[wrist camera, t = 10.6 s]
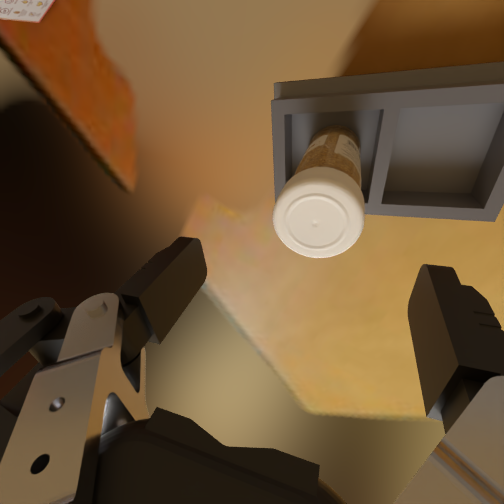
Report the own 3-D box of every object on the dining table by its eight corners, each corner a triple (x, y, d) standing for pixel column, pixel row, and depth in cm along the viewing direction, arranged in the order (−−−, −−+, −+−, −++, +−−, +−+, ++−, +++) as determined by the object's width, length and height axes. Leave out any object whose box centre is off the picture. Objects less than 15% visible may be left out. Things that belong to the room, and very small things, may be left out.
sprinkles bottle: (304, 130, 23) (261, 186, 13) (360, 118, 21) (364, 171, 11) (311, 180, 25) (279, 262, 15) (362, 173, 24) (366, 261, 13)
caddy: (545, 57, 17) (587, 56, 14) (478, 211, 23) (497, 233, 20) (276, 82, 23) (263, 85, 19) (280, 201, 29) (270, 218, 26)
